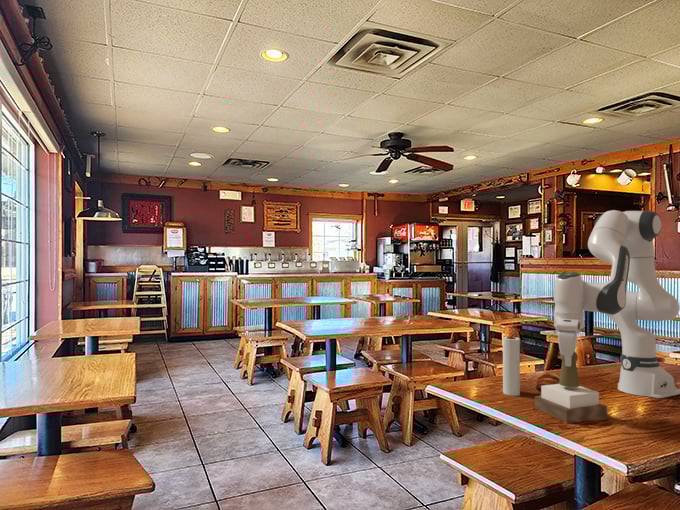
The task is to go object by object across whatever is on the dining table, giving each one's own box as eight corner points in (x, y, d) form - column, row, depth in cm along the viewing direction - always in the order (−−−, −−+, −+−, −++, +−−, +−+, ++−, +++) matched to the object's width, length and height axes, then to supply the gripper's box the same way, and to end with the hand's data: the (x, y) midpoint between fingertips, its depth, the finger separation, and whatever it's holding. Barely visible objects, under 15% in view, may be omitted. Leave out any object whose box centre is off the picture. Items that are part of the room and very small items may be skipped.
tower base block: (572, 407, 161) (572, 392, 161) (606, 421, 146) (606, 406, 146) (535, 410, 157) (534, 396, 157) (566, 426, 143) (566, 410, 143)
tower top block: (569, 394, 159) (569, 382, 159) (598, 404, 148) (598, 392, 148) (541, 397, 156) (541, 385, 156) (569, 408, 144) (569, 395, 144)
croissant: (554, 391, 187) (543, 373, 190) (577, 382, 181) (565, 363, 184) (533, 402, 172) (522, 382, 175) (557, 392, 166) (545, 371, 169)
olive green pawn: (582, 387, 149) (581, 353, 149) (561, 386, 150) (561, 352, 150) (576, 382, 155) (576, 349, 155) (557, 381, 156) (556, 349, 156)
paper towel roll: (508, 397, 170) (508, 339, 170) (499, 392, 176) (499, 336, 176) (526, 396, 172) (525, 338, 172) (516, 391, 178) (516, 336, 178)
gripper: (561, 317, 163) (561, 356, 163) (555, 325, 145) (555, 369, 145) (581, 318, 160) (581, 358, 160) (577, 326, 142) (577, 371, 142)
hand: (569, 363), depth 152 cm, fingers closed on olive green pawn, 5 cm apart
